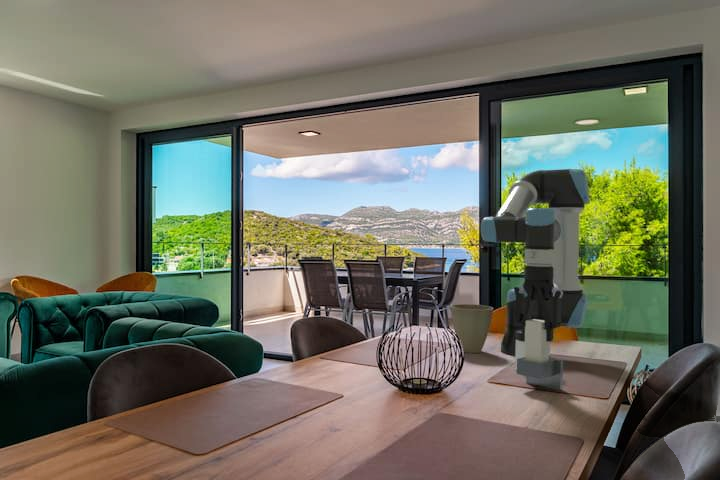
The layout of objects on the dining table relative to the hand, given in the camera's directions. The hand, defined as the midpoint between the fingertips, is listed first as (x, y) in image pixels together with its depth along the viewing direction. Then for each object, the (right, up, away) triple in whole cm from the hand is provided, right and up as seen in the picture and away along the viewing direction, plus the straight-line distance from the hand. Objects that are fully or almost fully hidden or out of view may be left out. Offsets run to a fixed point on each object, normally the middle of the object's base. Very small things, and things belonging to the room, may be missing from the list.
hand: (537, 351), depth 148 cm
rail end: (0, -4, 0) cm, 4 cm away
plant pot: (-8, -10, +48) cm, 50 cm away
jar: (+4, -10, +21) cm, 24 cm away
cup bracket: (0, -10, 0) cm, 10 cm away
